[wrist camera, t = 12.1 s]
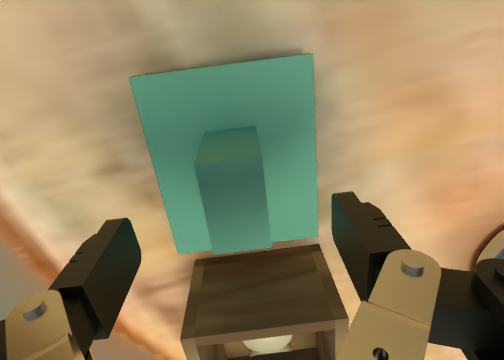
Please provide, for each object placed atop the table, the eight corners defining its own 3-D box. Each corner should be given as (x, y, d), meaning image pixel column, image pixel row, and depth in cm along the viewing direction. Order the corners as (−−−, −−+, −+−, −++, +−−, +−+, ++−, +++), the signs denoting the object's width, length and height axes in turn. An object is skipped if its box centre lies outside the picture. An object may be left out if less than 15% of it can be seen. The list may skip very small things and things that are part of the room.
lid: (140, 73, 18) (86, 92, 12) (304, 52, 18) (342, 59, 12) (183, 235, 23) (162, 312, 17) (311, 219, 23) (340, 290, 17)
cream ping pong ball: (237, 278, 24) (237, 321, 20) (282, 272, 24) (290, 314, 20) (244, 310, 26) (245, 355, 22) (286, 304, 25) (294, 348, 22)
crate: (195, 260, 24) (180, 339, 18) (319, 244, 24) (348, 318, 18) (220, 356, 29) (215, 444, 23) (322, 344, 29) (346, 429, 23)
